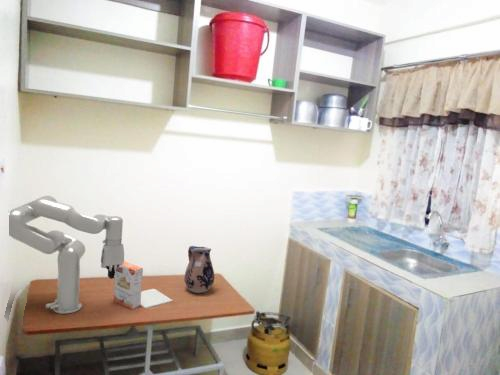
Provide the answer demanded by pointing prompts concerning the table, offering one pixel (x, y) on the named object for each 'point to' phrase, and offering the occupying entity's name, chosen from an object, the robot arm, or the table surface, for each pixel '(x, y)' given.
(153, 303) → the mat
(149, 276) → the table surface
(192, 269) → the ceramic pitcher
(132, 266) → the cracker box
